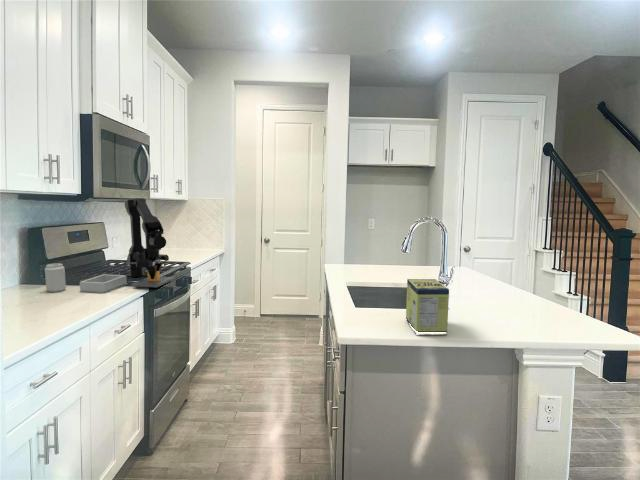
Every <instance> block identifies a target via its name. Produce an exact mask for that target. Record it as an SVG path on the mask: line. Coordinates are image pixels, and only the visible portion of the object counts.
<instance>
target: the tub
mask: <svg viewBox="0 0 640 480" xmlns="http://www.w3.org/2000/svg"><path fill="white" fill-rule="evenodd" d="M127 284H128V283H127V275H123V274H121V275H120V274H103V273H102V274H100V275H97V276H94V277H91V278H87V279H85V280H82V281H79V292H80V293H93V294H94V293H95V294H107V293H109V292H111V291H114V290H117V289H119V288H123V287H124V286H127Z"/></svg>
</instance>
